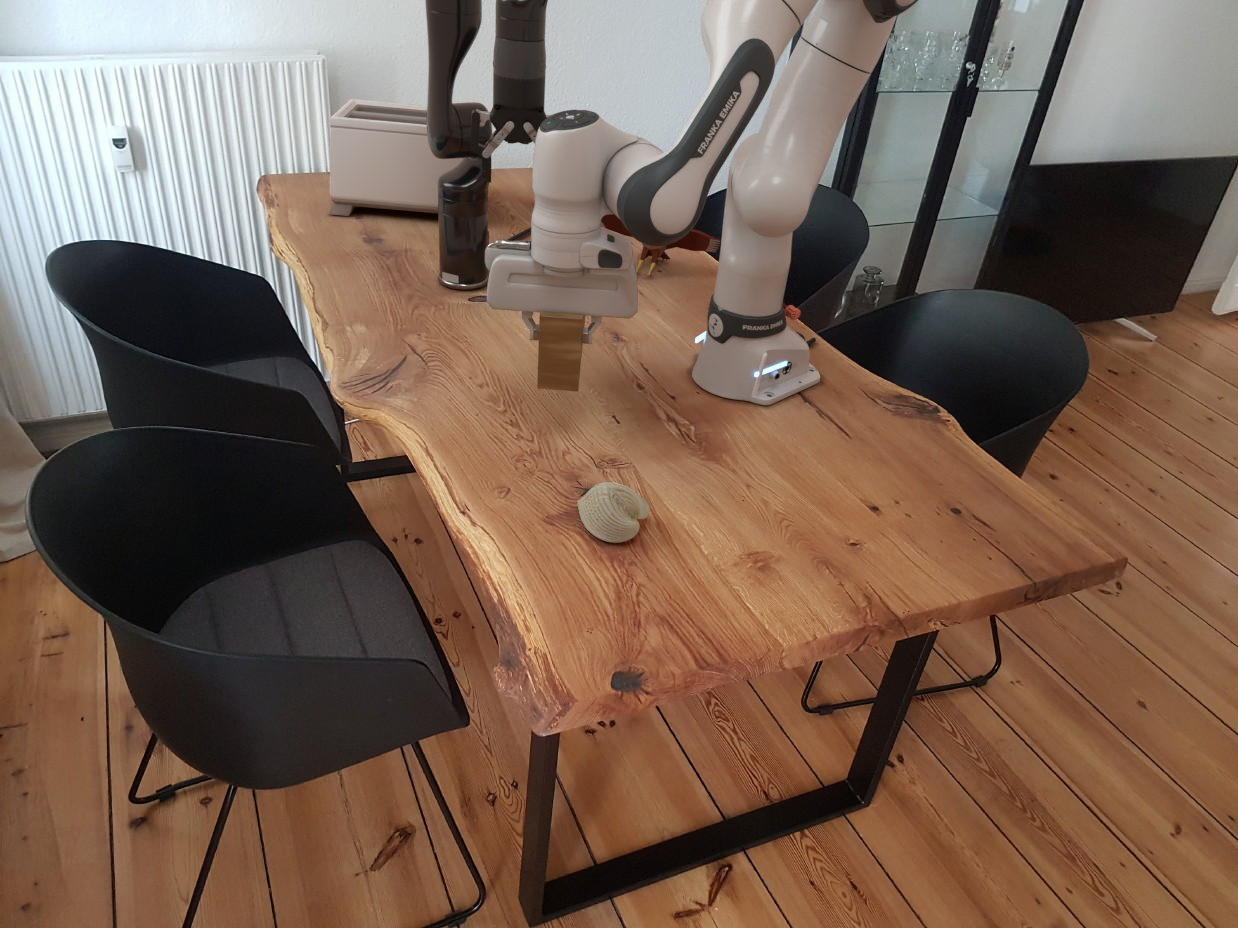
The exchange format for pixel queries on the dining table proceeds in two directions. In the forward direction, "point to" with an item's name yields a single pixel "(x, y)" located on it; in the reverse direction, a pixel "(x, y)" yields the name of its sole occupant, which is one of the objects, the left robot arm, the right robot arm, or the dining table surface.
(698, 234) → the decorative bird
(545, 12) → the left robot arm
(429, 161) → the toaster
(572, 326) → the box
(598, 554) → the dining table surface
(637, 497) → the seashell
